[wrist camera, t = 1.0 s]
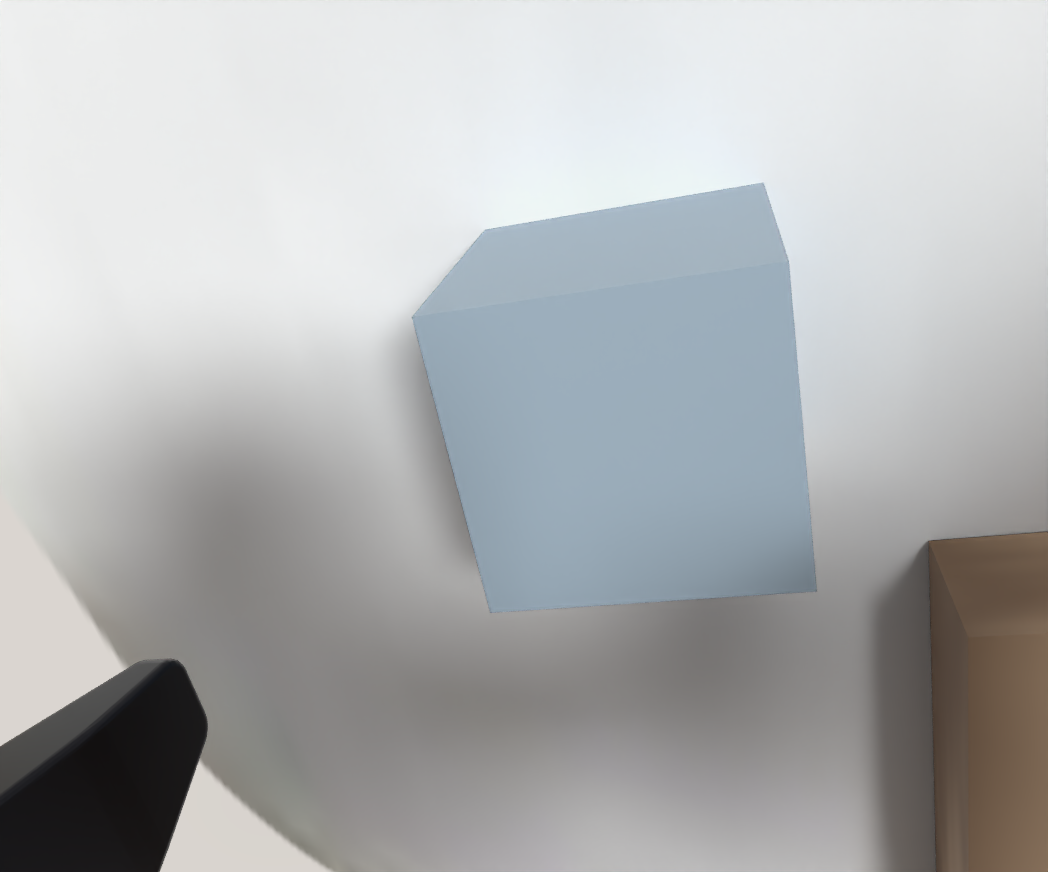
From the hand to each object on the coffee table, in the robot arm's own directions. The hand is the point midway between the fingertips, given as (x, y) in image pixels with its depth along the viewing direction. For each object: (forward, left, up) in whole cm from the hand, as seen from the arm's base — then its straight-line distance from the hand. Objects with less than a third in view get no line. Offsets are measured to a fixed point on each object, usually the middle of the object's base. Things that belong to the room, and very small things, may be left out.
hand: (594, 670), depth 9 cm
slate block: (0, 0, -10) cm, 10 cm away
